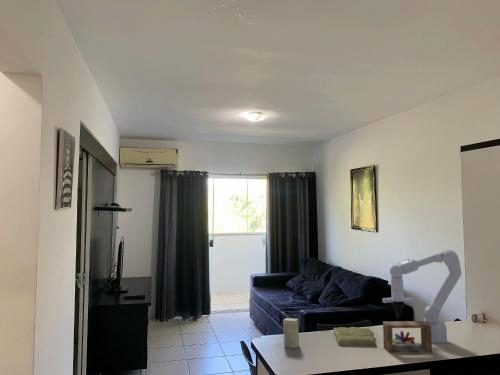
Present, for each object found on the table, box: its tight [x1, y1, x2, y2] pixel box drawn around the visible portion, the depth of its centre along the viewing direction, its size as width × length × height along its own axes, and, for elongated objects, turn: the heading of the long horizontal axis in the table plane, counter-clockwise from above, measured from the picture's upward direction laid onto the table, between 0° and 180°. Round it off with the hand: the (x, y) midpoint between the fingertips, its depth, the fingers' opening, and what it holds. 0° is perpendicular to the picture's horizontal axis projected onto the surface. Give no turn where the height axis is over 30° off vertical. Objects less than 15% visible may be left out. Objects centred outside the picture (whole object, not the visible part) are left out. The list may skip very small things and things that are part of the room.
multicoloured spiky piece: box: [393, 330, 416, 344], centre depth 172 cm, size 8×10×7 cm
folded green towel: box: [333, 326, 377, 347], centre depth 184 cm, size 19×20×4 cm
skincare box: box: [282, 317, 300, 349], centre depth 175 cm, size 6×4×12 cm
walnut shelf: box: [382, 320, 433, 354], centre depth 169 cm, size 19×7×12 cm, turn 90°
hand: (398, 317), depth 188 cm, fingers closed
